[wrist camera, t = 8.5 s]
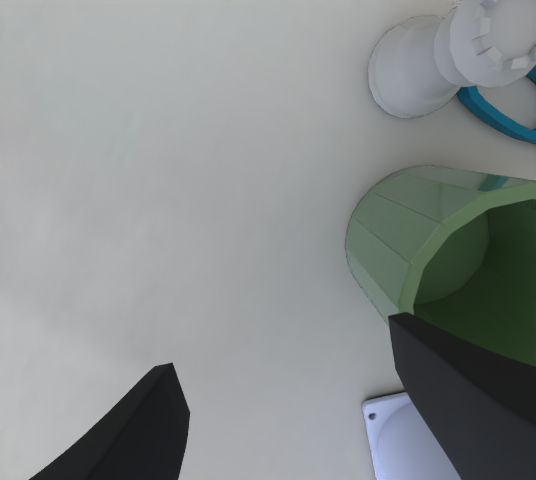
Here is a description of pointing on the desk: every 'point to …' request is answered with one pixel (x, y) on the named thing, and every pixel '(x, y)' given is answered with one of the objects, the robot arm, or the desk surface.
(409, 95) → the rook chess piece
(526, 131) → the scissors
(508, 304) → the planter
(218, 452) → the desk surface
